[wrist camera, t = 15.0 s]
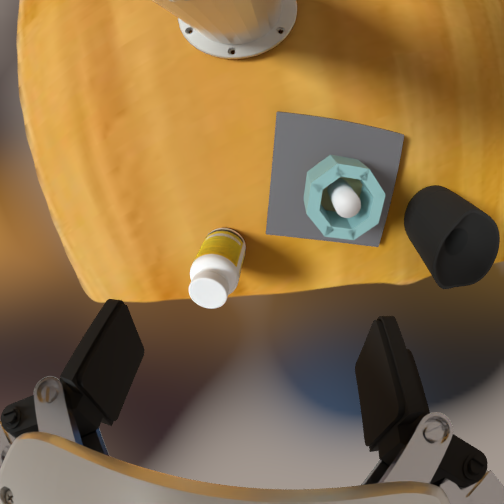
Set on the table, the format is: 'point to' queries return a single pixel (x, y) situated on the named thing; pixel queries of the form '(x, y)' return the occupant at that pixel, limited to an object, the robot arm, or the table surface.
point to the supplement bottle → (217, 268)
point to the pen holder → (451, 236)
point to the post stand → (341, 190)
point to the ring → (331, 220)
